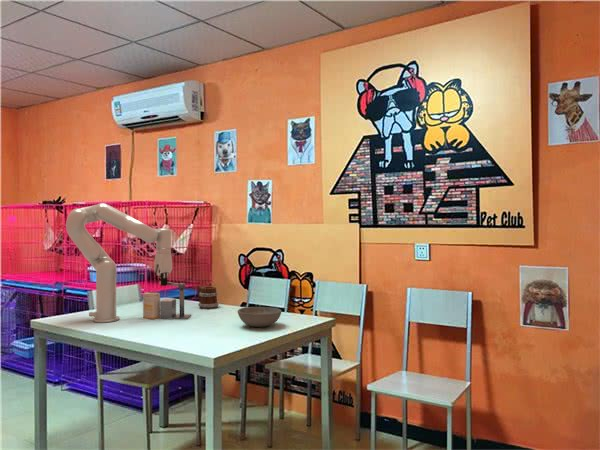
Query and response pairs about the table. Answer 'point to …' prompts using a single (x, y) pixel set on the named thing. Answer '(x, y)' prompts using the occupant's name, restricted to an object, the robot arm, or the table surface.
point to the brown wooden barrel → (207, 297)
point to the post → (181, 307)
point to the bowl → (259, 316)
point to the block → (167, 308)
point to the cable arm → (176, 284)
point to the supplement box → (151, 305)
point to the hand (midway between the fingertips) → (163, 285)
